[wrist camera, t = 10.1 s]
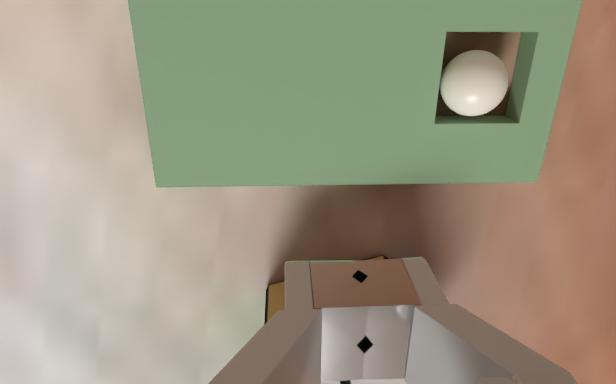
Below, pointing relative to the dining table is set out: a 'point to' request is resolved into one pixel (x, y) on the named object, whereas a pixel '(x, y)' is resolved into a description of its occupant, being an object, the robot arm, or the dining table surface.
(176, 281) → the dining table surface
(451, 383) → the robot arm
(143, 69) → the deck
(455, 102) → the ball
